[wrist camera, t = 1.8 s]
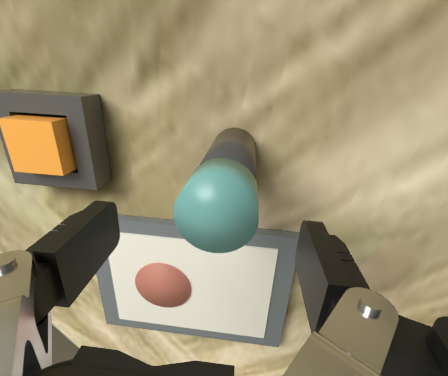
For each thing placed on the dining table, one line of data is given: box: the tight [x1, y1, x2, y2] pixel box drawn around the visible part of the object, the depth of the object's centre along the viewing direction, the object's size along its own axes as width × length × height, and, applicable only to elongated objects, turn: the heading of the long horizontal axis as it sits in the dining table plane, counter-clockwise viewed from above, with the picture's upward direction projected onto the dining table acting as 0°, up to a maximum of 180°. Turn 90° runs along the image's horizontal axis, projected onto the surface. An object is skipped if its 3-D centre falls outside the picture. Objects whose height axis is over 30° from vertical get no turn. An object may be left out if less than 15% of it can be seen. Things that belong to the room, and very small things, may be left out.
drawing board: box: [96, 215, 300, 347], centre depth 29 cm, size 22×16×1 cm
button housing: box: [0, 89, 112, 190], centre depth 23 cm, size 8×8×3 cm
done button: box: [0, 115, 77, 176], centre depth 21 cm, size 4×4×2 cm
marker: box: [173, 128, 258, 253], centre depth 17 cm, size 4×4×12 cm
